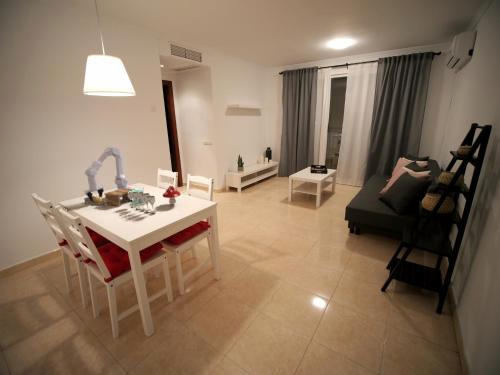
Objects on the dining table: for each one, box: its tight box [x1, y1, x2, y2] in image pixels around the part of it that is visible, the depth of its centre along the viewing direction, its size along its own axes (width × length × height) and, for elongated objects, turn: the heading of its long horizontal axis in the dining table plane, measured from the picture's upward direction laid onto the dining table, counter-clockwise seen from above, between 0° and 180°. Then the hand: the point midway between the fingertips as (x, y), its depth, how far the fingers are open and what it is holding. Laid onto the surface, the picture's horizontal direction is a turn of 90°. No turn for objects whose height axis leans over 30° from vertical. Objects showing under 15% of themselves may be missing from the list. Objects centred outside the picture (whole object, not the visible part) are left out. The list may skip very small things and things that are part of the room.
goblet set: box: [128, 191, 157, 214], centre depth 171 cm, size 28×6×13 cm, turn 61°
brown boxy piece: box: [103, 188, 136, 207], centre depth 187 cm, size 17×14×10 cm
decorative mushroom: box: [162, 185, 182, 205], centre depth 182 cm, size 14×14×15 cm
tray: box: [83, 195, 107, 207], centre depth 187 cm, size 6×18×6 cm, turn 68°
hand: (96, 199), depth 187 cm, fingers open, 7 cm apart
